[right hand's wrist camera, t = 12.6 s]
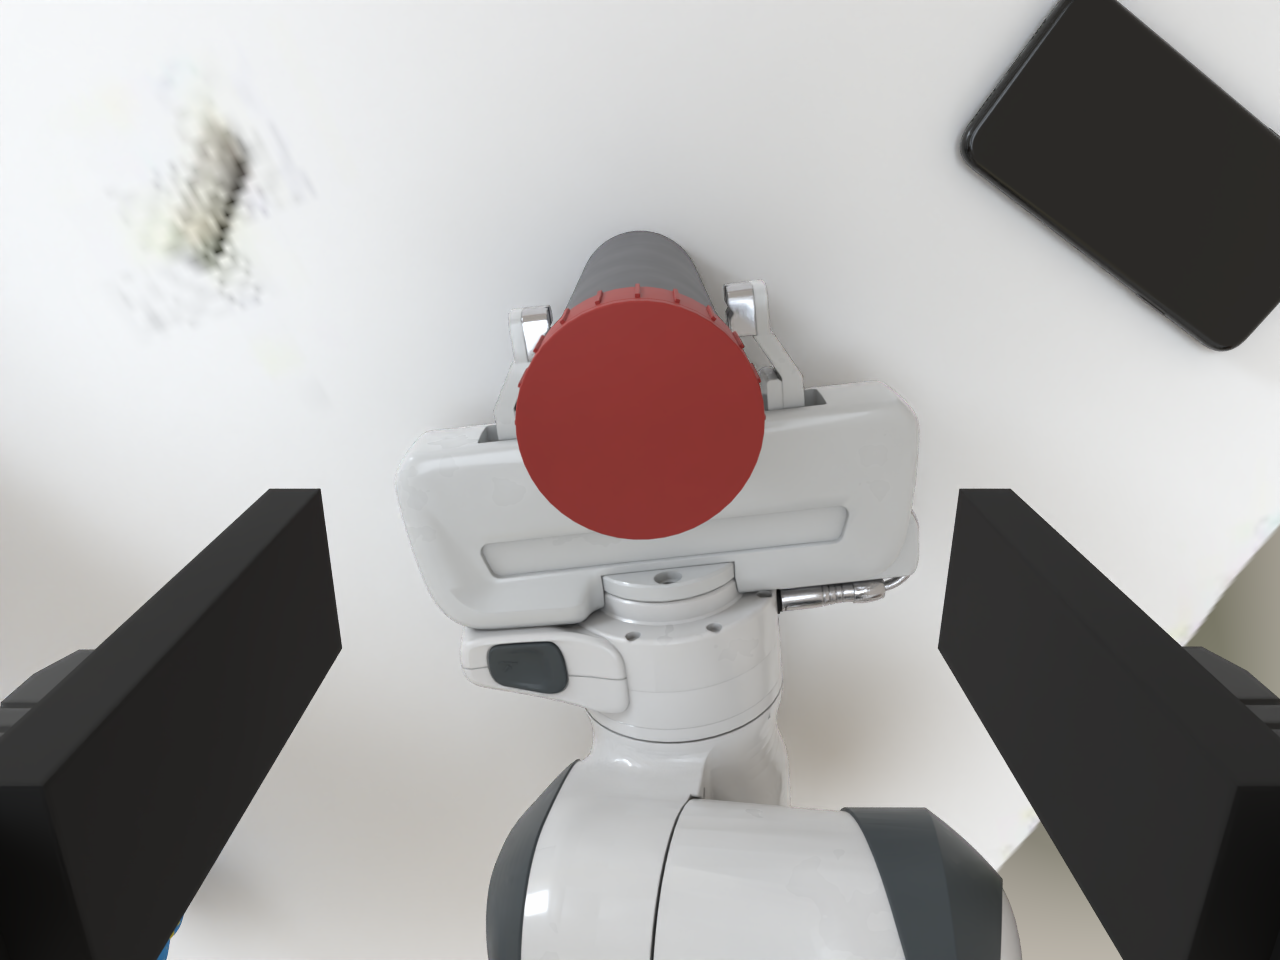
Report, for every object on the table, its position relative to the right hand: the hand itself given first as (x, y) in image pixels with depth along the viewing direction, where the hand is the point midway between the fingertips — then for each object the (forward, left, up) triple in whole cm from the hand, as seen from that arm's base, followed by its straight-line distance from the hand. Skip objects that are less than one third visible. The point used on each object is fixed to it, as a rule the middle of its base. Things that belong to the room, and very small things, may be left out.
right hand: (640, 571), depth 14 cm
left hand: (0, -1, -21) cm, 21 cm away
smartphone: (-21, -8, -28) cm, 35 cm away
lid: (0, 0, -8) cm, 8 cm away
